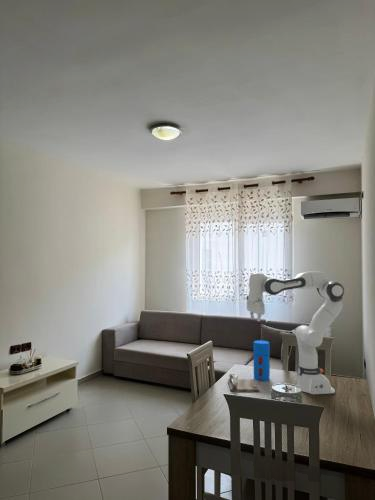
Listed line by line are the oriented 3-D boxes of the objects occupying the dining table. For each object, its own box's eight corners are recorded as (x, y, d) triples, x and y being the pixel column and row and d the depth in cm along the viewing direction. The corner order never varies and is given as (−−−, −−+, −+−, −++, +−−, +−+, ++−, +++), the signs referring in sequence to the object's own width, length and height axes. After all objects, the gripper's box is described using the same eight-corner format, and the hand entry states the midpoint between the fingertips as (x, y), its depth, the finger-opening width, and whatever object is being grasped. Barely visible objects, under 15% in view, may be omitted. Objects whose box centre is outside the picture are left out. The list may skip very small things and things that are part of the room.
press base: (254, 381, 233) (254, 378, 234) (259, 392, 214) (259, 388, 215) (227, 381, 234) (227, 378, 234) (230, 391, 215) (230, 388, 215)
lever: (229, 378, 233) (229, 367, 234) (235, 378, 233) (235, 368, 234) (232, 388, 215) (232, 376, 215) (238, 388, 215) (238, 376, 215)
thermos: (252, 380, 236) (252, 343, 237) (254, 375, 247) (254, 339, 248) (269, 382, 233) (269, 344, 234) (270, 377, 243) (270, 341, 244)
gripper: (267, 299, 213) (267, 322, 213) (253, 296, 233) (253, 317, 233) (257, 299, 212) (257, 322, 211) (245, 296, 232) (244, 317, 231)
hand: (255, 319), depth 222 cm, fingers open, 8 cm apart
